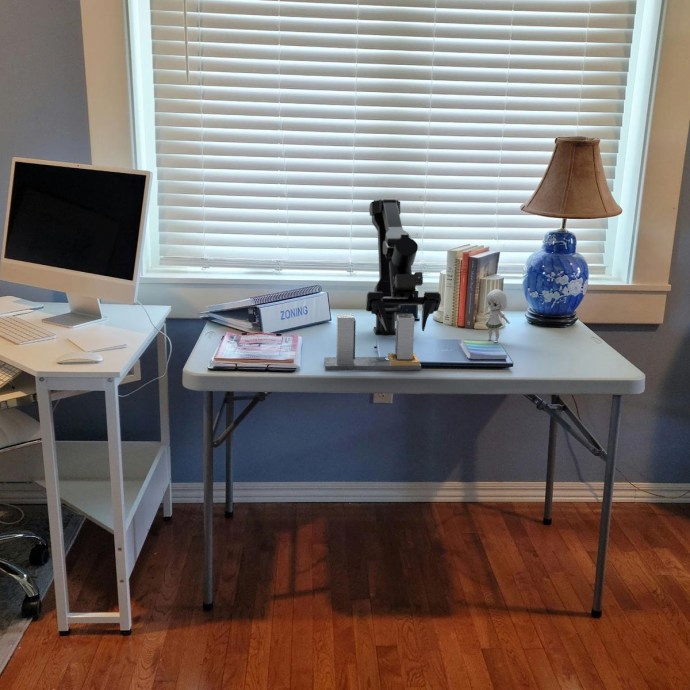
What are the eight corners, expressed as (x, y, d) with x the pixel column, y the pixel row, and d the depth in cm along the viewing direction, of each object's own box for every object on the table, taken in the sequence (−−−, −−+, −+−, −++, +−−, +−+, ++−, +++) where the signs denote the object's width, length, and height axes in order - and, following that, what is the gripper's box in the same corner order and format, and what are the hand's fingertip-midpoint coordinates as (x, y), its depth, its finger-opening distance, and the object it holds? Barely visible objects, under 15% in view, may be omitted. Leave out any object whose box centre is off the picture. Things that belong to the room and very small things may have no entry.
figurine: (472, 338, 223) (476, 287, 219) (486, 335, 227) (490, 284, 222) (501, 347, 215) (505, 294, 211) (515, 343, 219) (519, 291, 215)
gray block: (394, 358, 200) (396, 313, 196) (410, 358, 200) (412, 313, 196) (396, 363, 196) (398, 317, 192) (412, 363, 196) (414, 317, 192)
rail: (324, 361, 200) (324, 312, 197) (416, 361, 202) (418, 312, 198) (325, 370, 193) (325, 319, 190) (420, 370, 195) (423, 319, 191)
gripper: (367, 260, 194) (370, 314, 186) (441, 260, 195) (447, 314, 187) (364, 284, 203) (367, 336, 196) (434, 284, 205) (440, 336, 197)
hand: (405, 330), depth 194 cm, fingers open, 9 cm apart
